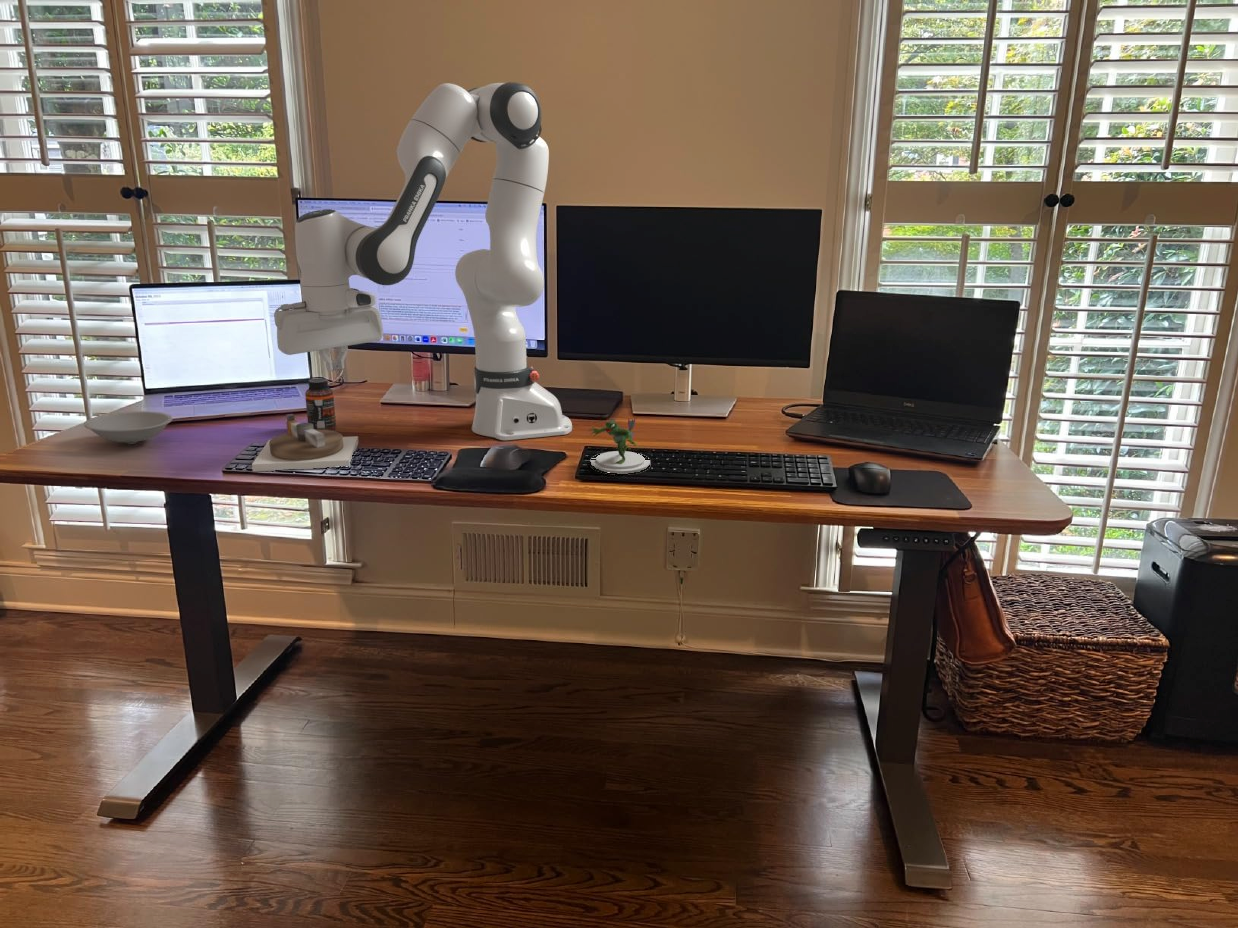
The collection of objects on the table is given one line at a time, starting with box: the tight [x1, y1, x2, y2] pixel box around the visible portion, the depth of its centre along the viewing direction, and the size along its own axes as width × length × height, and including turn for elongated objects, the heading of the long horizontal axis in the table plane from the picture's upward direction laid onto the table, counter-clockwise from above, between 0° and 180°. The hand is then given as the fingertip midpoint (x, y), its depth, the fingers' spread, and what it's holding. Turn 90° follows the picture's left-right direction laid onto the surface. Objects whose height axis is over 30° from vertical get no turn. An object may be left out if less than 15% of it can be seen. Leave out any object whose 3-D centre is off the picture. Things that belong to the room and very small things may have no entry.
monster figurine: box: [588, 418, 651, 475], centre depth 174 cm, size 12×12×10 cm
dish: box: [83, 410, 173, 445], centre depth 186 cm, size 18×14×5 cm
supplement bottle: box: [304, 377, 337, 431], centre depth 195 cm, size 6×6×11 cm
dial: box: [269, 420, 344, 460], centre depth 178 cm, size 14×14×5 cm
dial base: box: [251, 413, 359, 473], centre depth 178 cm, size 18×16×7 cm
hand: (335, 370), depth 172 cm, fingers closed
